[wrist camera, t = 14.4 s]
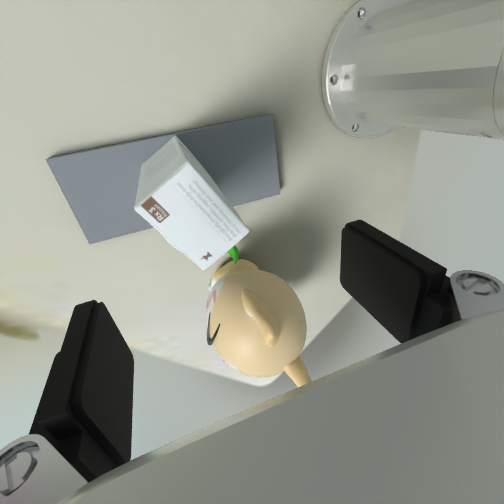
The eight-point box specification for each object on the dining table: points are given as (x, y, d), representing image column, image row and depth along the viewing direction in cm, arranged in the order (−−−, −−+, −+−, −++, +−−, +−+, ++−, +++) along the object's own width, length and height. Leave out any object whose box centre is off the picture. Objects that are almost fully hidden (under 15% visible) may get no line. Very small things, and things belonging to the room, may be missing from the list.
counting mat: (269, 114, 28) (273, 114, 27) (276, 191, 32) (280, 193, 31) (49, 157, 23) (45, 159, 23) (91, 239, 28) (89, 244, 27)
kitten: (162, 253, 31) (177, 359, 18) (240, 206, 31) (305, 280, 19) (225, 329, 39) (264, 437, 27) (285, 292, 40) (351, 380, 27)
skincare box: (217, 183, 28) (258, 231, 18) (183, 212, 28) (206, 276, 18) (172, 130, 25) (194, 155, 15) (135, 164, 25) (131, 211, 15)
